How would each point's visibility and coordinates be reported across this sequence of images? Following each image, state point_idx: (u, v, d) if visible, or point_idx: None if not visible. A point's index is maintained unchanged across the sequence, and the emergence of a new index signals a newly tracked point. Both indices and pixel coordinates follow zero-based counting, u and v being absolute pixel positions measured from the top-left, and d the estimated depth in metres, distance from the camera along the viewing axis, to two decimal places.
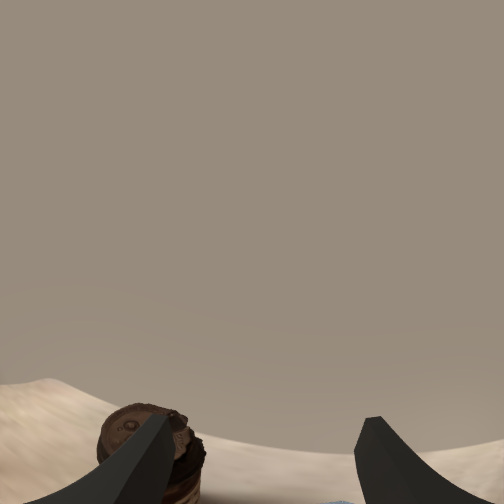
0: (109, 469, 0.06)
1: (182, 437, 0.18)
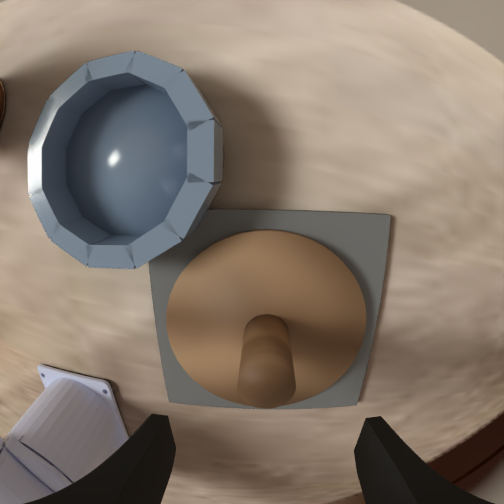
0: (109, 470, 0.06)
1: None
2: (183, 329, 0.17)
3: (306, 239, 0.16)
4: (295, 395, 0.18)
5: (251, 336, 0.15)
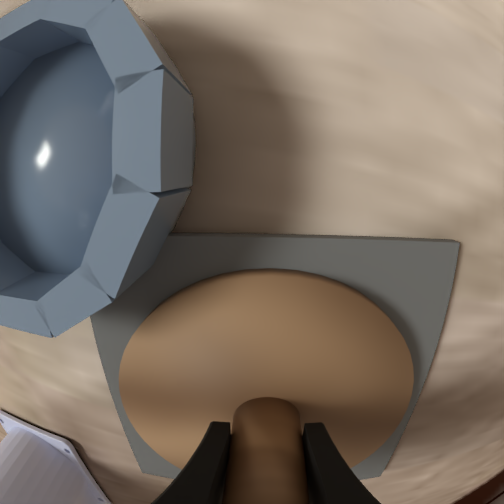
0: (186, 487, 0.06)
1: None
2: (145, 408, 0.11)
3: (335, 288, 0.09)
4: None
5: (242, 443, 0.08)
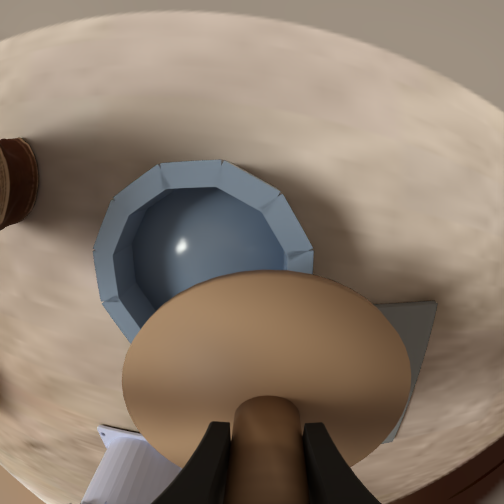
0: (185, 486, 0.06)
1: None
2: (149, 411, 0.11)
3: (326, 286, 0.09)
4: None
5: (242, 440, 0.08)
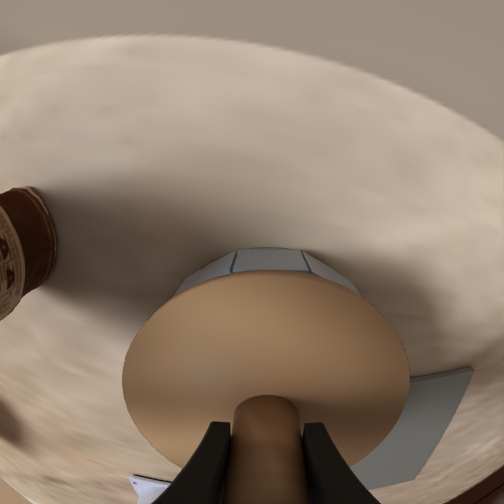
0: (186, 486, 0.06)
1: None
2: (149, 412, 0.11)
3: (320, 284, 0.09)
4: None
5: (240, 439, 0.09)
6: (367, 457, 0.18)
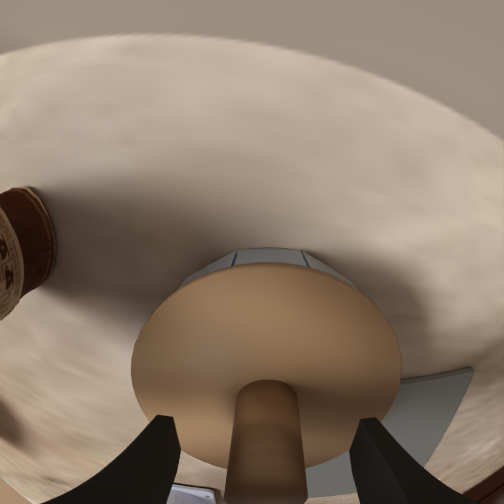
0: (116, 471, 0.06)
1: None
2: (156, 398, 0.12)
3: (316, 276, 0.10)
4: (309, 460, 0.13)
5: (242, 420, 0.09)
6: None
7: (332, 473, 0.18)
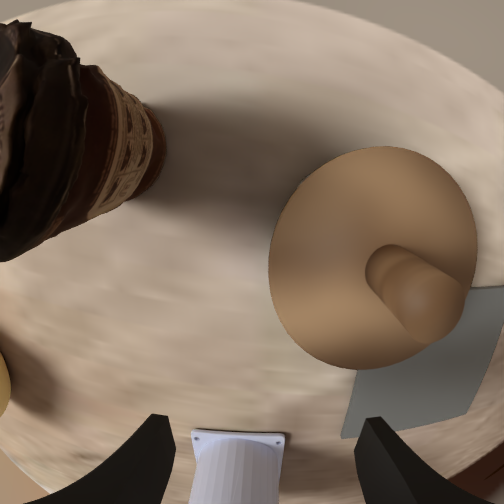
0: (109, 469, 0.06)
1: (3, 104, 0.04)
2: (291, 275, 0.14)
3: (423, 156, 0.12)
4: (411, 347, 0.15)
5: (391, 263, 0.12)
6: (434, 377, 0.20)
7: (403, 398, 0.20)
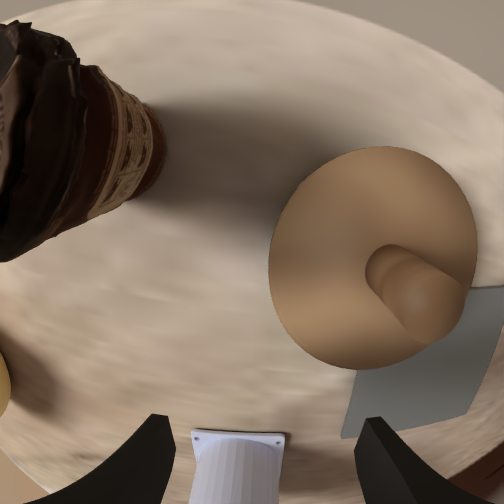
0: (109, 469, 0.06)
1: (3, 105, 0.04)
2: (291, 275, 0.14)
3: (423, 156, 0.12)
4: (411, 347, 0.15)
5: (391, 263, 0.12)
6: (434, 377, 0.20)
7: (403, 398, 0.20)
